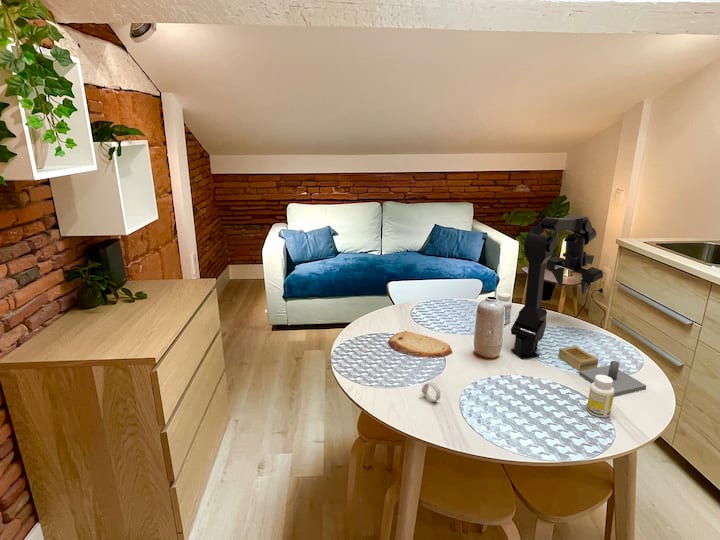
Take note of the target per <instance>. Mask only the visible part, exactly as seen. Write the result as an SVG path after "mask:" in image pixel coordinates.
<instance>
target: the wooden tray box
mask: <svg viewBox="0 0 720 540" xmlns="http://www.w3.org/2000/svg"><path fill="white" fill-rule="evenodd" d="M558 358H559V360H562V361H563V362H564V363H566V364H567V365H569V366H571V367H572V368H574V369H575V370H577V371H578V372H580V371H583V370H588V369H593V368H598V363H599V359H598V357H595V356H594V355H592V354H590V353H588V351H585V350H583V349H582V348H580V347H579V346H577V345H575V346H570V347H569V346H568V347H565V348H559V351H558Z"/></svg>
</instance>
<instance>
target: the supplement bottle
mask: <svg viewBox="0 0 720 540" xmlns="http://www.w3.org/2000/svg"><path fill="white" fill-rule="evenodd" d="M612 384H613V379H612V378H610V377H609V376H606V375H596V376H595V381H594V382H593V383H590V386H589V393H588V400H587V405H586V410H587V411H588V412H589V413H590V415H592V416H595V417H598V418H608V417H610V416H611V412H612V406H613V402H614V401H613V400H614V397H615V396H614V388H613V387H612Z"/></svg>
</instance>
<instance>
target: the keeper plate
mask: <svg viewBox="0 0 720 540" xmlns="http://www.w3.org/2000/svg"><path fill="white" fill-rule="evenodd" d="M619 367H620V363H619V362H618V361H615V360H611V361H610V363H609V365H604V366H599V367H598V366H597V368H593V369H588V370H583V371H578V375H579V376H580V377H582V378H583V379H584V380H586V381H587V382H589V383H590V384H592V383H593V382H594V381H595V376H596V375H606V376H609V377H610V378H612V379H613V384H612V387H613V388H614V397H617V396H622V395H627V394H631V393H635V391H636V392H639V390H640V391H643V390H644V389H645V390H646V389H647V385H646V384H645V383H643V382H641V381H639V379H636V378H635V377H632V376H631V375H629V374H627V373H626V372H624V371H622V370H621V369H619ZM645 390H644V391H645Z"/></svg>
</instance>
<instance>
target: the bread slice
mask: <svg viewBox="0 0 720 540" xmlns="http://www.w3.org/2000/svg"><path fill="white" fill-rule="evenodd" d="M387 344H389V345H390V346H389V345H388V346H389V347H391V348H392V349H393V350H394V349H395V350H394V351H396V352H398V351H399V352H398V353H400V352H401V353H400V354H403V353H404V354H403V355H407V354H408V356H412V357H418V356H419V358H424V357H428V358H427V359H436V358H435V357H439V358H444V356H445V357H447V356H450V355H452V354H453V351H452V348H451V346H450V344H449V343H448V342H445V341H443V340H440V339H437V338H435V337H432V336H428V335H423V334H420V333H415V332H412V331H408V330H404V331H400V332H397V333H396V334H394V335H392V336H391V337H390V338H389V340H388V342H387ZM431 357H432V358H431Z"/></svg>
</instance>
